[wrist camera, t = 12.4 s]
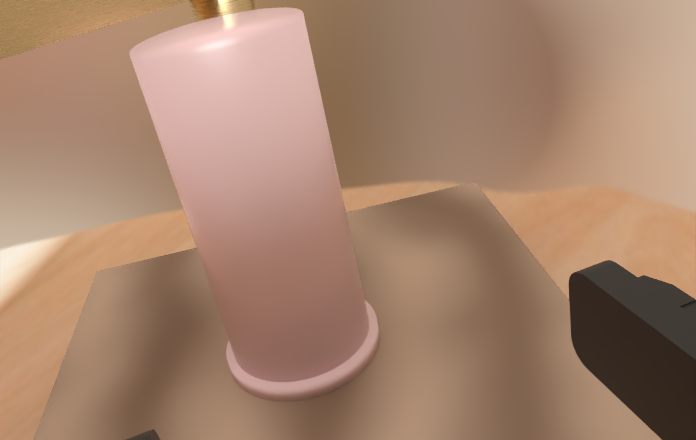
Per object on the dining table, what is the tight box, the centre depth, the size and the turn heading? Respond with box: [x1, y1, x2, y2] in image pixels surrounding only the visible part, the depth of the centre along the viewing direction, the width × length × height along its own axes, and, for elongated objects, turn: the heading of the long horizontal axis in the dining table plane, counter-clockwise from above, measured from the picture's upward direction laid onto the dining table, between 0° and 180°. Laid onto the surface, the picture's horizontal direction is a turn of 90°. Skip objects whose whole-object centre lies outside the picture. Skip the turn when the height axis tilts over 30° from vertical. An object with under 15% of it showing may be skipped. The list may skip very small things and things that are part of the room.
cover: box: [130, 8, 380, 401], centre depth 22 cm, size 6×6×12 cm
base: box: [34, 182, 662, 440], centre depth 25 cm, size 20×20×3 cm
